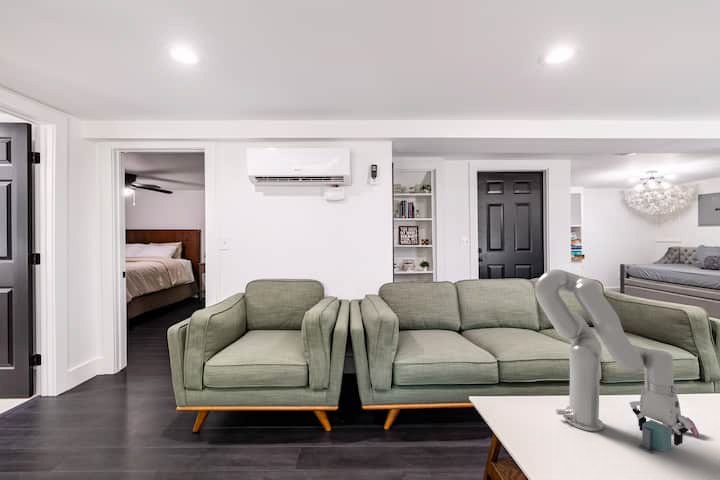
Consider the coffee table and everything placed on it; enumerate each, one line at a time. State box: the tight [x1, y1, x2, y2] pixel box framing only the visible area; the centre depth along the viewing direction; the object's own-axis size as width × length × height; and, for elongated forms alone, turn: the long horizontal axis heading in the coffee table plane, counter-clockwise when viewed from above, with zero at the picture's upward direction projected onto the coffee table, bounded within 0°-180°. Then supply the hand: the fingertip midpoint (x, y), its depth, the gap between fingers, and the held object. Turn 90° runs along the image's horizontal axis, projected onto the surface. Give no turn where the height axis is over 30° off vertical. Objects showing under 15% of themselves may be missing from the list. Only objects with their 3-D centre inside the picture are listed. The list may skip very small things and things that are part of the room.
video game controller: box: [661, 414, 700, 439], centre depth 125 cm, size 10×5×7 cm, turn 71°
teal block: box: [641, 419, 673, 453], centre depth 117 cm, size 6×6×7 cm
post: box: [637, 427, 658, 455], centre depth 115 cm, size 4×4×7 cm
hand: (659, 436), depth 117 cm, fingers open, 9 cm apart
